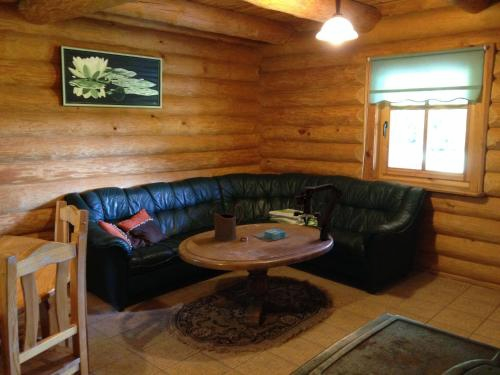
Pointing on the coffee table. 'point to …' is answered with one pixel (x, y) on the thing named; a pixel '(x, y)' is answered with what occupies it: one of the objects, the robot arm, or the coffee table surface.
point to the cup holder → (226, 226)
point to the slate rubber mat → (262, 236)
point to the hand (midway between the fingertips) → (306, 226)
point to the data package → (275, 234)
